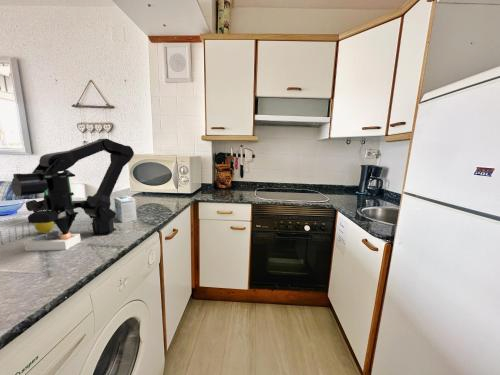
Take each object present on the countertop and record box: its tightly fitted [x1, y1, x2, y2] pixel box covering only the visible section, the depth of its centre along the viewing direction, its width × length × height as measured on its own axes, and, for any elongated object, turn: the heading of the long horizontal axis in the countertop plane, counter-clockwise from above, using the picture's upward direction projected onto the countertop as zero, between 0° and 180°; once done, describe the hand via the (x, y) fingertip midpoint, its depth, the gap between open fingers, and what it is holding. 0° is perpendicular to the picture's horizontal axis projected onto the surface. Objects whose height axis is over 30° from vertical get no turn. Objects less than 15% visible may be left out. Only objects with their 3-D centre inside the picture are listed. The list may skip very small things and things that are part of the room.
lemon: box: [34, 221, 55, 234], centre depth 85 cm, size 6×6×8 cm
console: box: [23, 233, 82, 252], centre depth 75 cm, size 7×13×3 cm, turn 94°
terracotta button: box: [59, 231, 72, 240], centre depth 75 cm, size 3×3×3 cm
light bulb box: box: [113, 195, 138, 223], centre depth 104 cm, size 11×7×11 cm, turn 47°
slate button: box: [34, 233, 47, 240], centre depth 74 cm, size 3×3×3 cm
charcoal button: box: [46, 230, 60, 240], centre depth 74 cm, size 3×3×3 cm
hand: (65, 233), depth 74 cm, fingers closed, pressing on terracotta button
